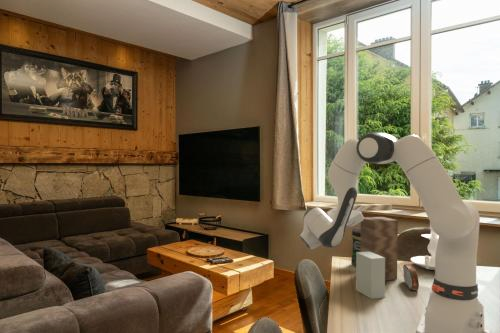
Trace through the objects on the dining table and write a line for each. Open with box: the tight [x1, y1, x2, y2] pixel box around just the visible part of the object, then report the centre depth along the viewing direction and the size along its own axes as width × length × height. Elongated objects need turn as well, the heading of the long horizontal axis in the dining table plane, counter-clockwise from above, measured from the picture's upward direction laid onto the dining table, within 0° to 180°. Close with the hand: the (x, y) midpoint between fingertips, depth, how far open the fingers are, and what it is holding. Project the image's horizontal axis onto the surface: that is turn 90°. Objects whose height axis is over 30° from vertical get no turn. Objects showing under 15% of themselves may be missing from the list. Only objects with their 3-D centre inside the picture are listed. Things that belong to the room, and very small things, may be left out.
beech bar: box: [352, 203, 393, 212], centre depth 155 cm, size 20×4×2 cm, turn 106°
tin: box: [402, 263, 420, 291], centre depth 143 cm, size 15×3×8 cm, turn 168°
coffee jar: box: [351, 227, 361, 267], centre depth 172 cm, size 10×8×19 cm
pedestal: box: [355, 251, 386, 300], centre depth 135 cm, size 6×10×15 cm, turn 15°
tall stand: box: [360, 216, 399, 281], centre depth 156 cm, size 12×10×26 cm
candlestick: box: [410, 223, 439, 271], centre depth 168 cm, size 21×25×28 cm
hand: (358, 206), depth 153 cm, fingers closed on beech bar, 4 cm apart
